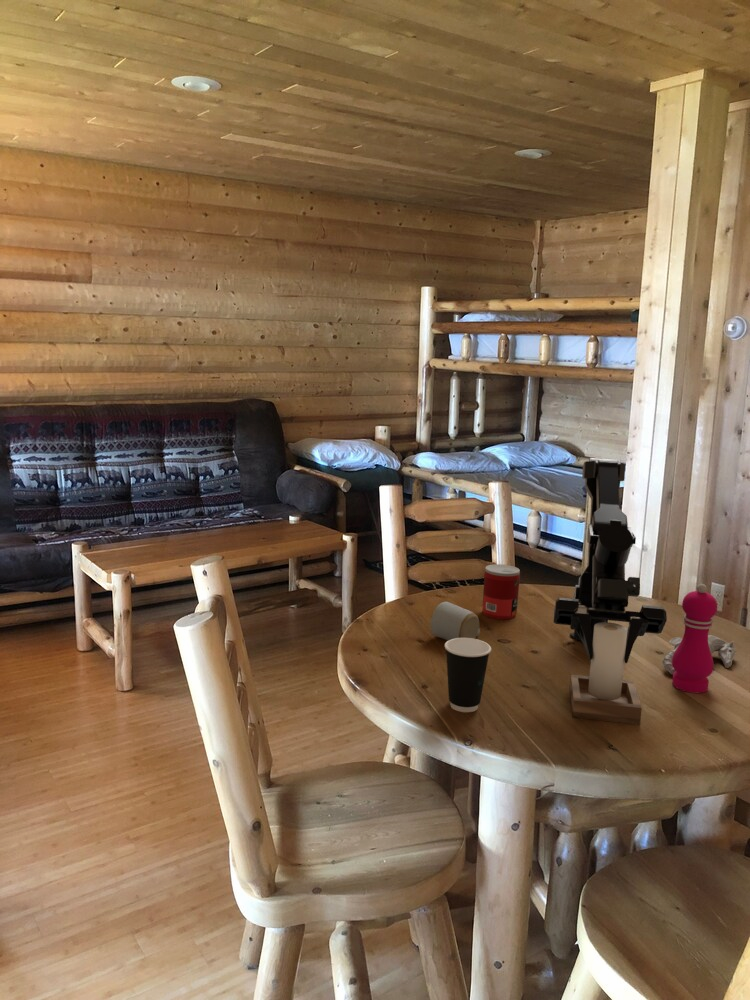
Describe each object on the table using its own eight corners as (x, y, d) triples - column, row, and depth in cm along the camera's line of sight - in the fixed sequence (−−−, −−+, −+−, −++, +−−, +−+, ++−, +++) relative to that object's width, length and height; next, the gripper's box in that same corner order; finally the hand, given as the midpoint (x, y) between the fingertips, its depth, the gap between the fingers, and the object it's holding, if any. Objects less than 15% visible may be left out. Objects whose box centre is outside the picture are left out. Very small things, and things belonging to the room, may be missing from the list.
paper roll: (594, 683, 143) (601, 619, 141) (625, 692, 140) (632, 626, 137) (583, 693, 139) (589, 628, 136) (614, 703, 135) (621, 635, 133)
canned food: (519, 620, 182) (522, 574, 179) (484, 619, 182) (487, 572, 180) (513, 609, 189) (517, 564, 187) (480, 608, 189) (483, 563, 187)
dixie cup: (434, 697, 141) (438, 638, 139) (476, 694, 143) (480, 636, 141) (450, 718, 133) (454, 656, 131) (494, 714, 135) (498, 653, 133)
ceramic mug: (460, 650, 163) (463, 614, 161) (428, 639, 168) (430, 604, 166) (488, 638, 171) (491, 604, 169) (457, 628, 176) (459, 594, 174)
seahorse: (710, 684, 148) (748, 642, 162) (655, 648, 154) (696, 611, 168) (699, 704, 151) (738, 661, 165) (645, 668, 157) (687, 630, 171)
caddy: (569, 689, 146) (570, 674, 145) (631, 696, 144) (633, 681, 143) (572, 716, 135) (573, 700, 135) (639, 724, 133) (641, 708, 133)
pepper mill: (662, 678, 153) (674, 577, 149) (698, 677, 153) (711, 578, 149) (680, 694, 146) (693, 589, 142) (718, 694, 146) (731, 590, 142)
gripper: (559, 553, 140) (556, 635, 132) (671, 562, 137) (675, 647, 128) (554, 583, 149) (551, 661, 141) (659, 592, 146) (662, 673, 137)
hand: (608, 660), depth 137 cm, fingers closed on paper roll, 5 cm apart
